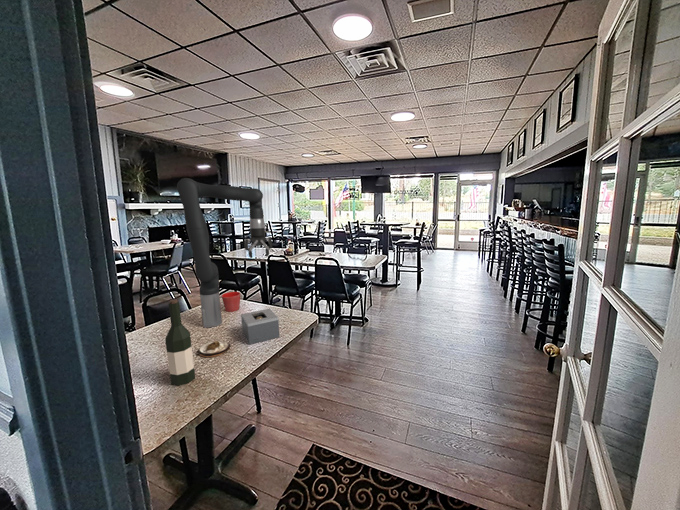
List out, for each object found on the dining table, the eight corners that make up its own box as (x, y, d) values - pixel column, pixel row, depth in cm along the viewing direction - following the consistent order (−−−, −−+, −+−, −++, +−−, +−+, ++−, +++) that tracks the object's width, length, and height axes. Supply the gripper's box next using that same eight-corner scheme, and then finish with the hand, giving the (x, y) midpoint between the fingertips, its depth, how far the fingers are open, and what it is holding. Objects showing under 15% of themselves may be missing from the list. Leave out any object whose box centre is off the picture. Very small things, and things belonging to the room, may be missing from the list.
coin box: (249, 345, 135) (247, 324, 133) (242, 333, 147) (240, 314, 145) (279, 337, 141) (278, 317, 140) (270, 327, 153) (269, 308, 152)
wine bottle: (176, 373, 113) (166, 297, 108) (199, 371, 114) (190, 296, 109) (166, 386, 105) (154, 305, 100) (190, 385, 106) (180, 303, 101)
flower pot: (219, 312, 176) (217, 296, 174) (229, 306, 186) (227, 291, 185) (236, 313, 174) (234, 297, 172) (244, 306, 185) (243, 291, 183)
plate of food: (212, 363, 121) (211, 354, 120) (188, 355, 128) (187, 346, 127) (240, 347, 133) (239, 339, 133) (217, 341, 140) (216, 332, 140)
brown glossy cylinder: (256, 336, 143) (255, 318, 141) (258, 334, 146) (257, 316, 144) (262, 336, 143) (261, 318, 141) (264, 334, 146) (263, 316, 144)
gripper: (245, 228, 153) (247, 259, 156) (272, 226, 160) (274, 256, 163) (242, 227, 160) (244, 257, 162) (268, 226, 166) (270, 254, 169)
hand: (259, 257), depth 163 cm, fingers open, 8 cm apart
